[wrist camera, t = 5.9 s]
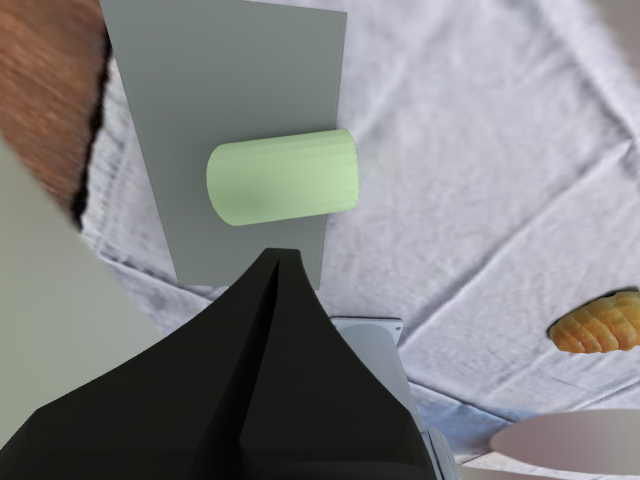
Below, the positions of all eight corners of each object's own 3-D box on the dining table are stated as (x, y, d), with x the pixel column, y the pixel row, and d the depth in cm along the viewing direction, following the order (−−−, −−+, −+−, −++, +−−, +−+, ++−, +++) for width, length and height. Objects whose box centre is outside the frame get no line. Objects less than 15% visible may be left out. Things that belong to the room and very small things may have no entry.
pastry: (550, 347, 30) (579, 378, 27) (538, 317, 28) (569, 347, 24) (639, 315, 28) (683, 344, 24) (636, 278, 25) (685, 305, 22)
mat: (318, 286, 24) (319, 289, 23) (181, 280, 23) (178, 284, 23) (346, 15, 14) (347, 12, 13) (102, -13, 13) (94, -17, 12)
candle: (345, 199, 19) (239, 213, 19) (340, 129, 17) (221, 144, 17) (361, 219, 14) (221, 239, 14) (357, 127, 12) (193, 147, 12)
